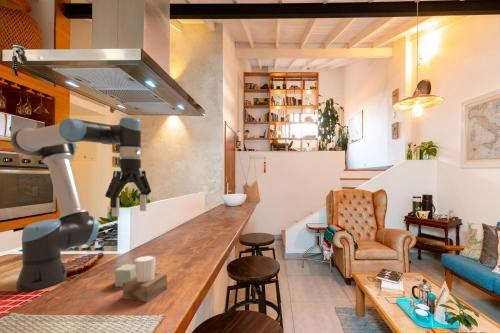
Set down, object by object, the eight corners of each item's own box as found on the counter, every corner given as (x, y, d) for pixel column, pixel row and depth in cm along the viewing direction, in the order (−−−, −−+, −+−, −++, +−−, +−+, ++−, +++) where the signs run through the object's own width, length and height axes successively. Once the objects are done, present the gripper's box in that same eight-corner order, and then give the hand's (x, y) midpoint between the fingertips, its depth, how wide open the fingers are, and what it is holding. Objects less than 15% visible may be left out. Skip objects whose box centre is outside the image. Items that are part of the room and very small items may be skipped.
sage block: (115, 286, 97) (114, 270, 97) (124, 279, 103) (124, 264, 103) (130, 286, 96) (130, 270, 96) (138, 280, 102) (138, 264, 102)
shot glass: (132, 284, 86) (132, 262, 86) (136, 276, 93) (136, 256, 93) (155, 281, 88) (154, 260, 88) (156, 273, 95) (156, 254, 95)
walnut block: (123, 298, 87) (122, 282, 87) (144, 285, 97) (144, 271, 97) (147, 302, 84) (147, 286, 84) (167, 288, 93) (166, 274, 93)
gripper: (110, 157, 88) (109, 220, 88) (160, 159, 112) (159, 209, 112) (94, 157, 91) (93, 218, 91) (146, 159, 114) (145, 208, 114)
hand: (130, 213), depth 101 cm, fingers open, 13 cm apart
